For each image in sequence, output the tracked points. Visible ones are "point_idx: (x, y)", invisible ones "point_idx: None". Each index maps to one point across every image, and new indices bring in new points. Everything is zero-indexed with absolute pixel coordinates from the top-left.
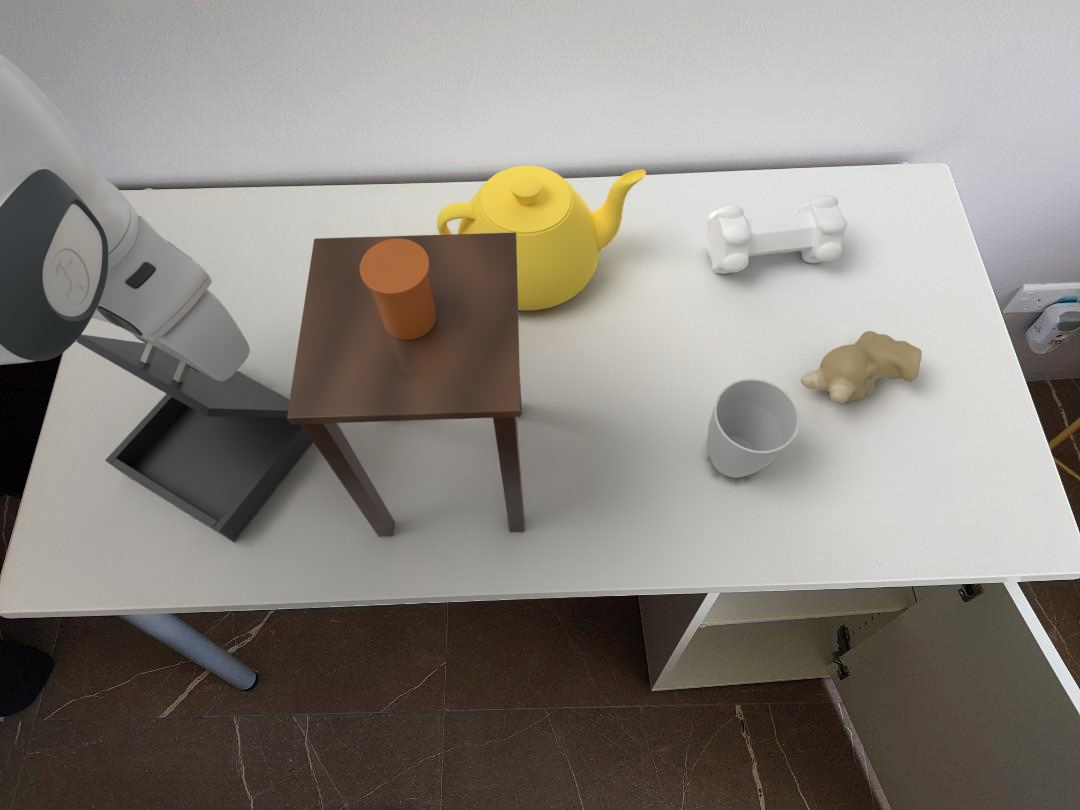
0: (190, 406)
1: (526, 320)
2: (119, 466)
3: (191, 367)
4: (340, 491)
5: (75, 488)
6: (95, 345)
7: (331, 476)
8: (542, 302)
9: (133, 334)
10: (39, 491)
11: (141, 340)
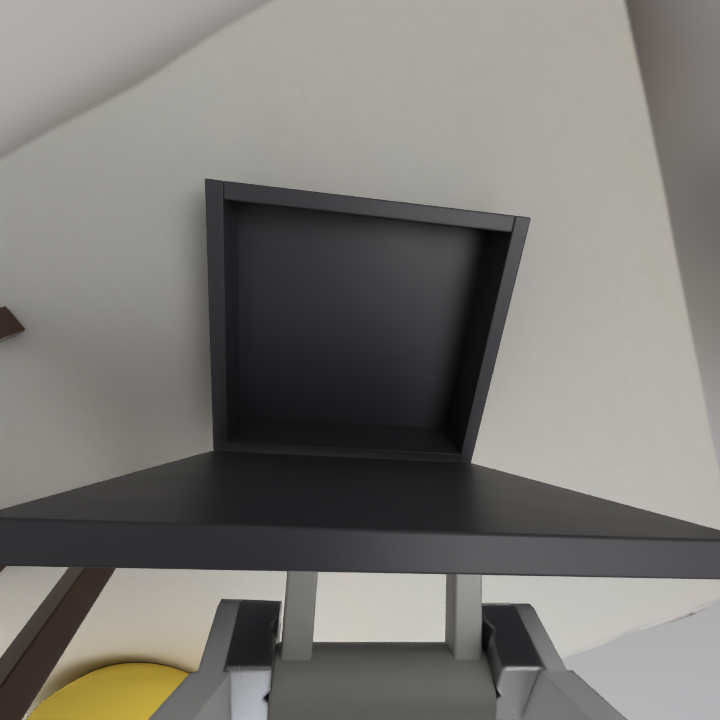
0: (83, 524)
1: (85, 658)
2: (493, 218)
3: (258, 620)
4: (127, 348)
5: (572, 153)
6: (673, 571)
7: (160, 364)
8: (38, 715)
9: (547, 639)
10: (636, 117)
11: (514, 611)
